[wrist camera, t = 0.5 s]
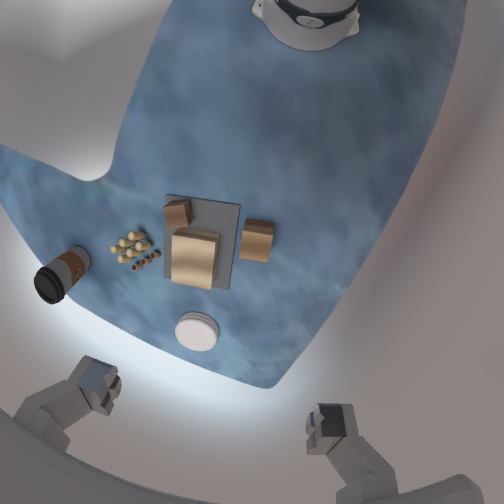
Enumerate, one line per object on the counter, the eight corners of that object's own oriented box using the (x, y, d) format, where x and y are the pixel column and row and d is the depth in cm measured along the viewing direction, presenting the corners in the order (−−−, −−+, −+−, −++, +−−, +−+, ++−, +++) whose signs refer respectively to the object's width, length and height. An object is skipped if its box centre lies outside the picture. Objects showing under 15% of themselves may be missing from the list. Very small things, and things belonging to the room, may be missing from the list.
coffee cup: (95, 276, 59) (62, 311, 45) (71, 267, 58) (36, 299, 45) (93, 246, 55) (55, 278, 42) (68, 238, 55) (29, 267, 41)
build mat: (167, 194, 49) (165, 195, 48) (240, 204, 49) (239, 205, 48) (165, 276, 57) (164, 277, 56) (228, 288, 57) (228, 289, 56)
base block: (179, 227, 51) (172, 235, 47) (219, 233, 51) (215, 242, 47) (177, 272, 55) (171, 282, 52) (214, 279, 55) (210, 289, 52)
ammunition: (107, 249, 50) (130, 279, 52) (130, 231, 48) (155, 265, 50) (118, 239, 54) (139, 268, 57) (141, 222, 52) (163, 254, 55)
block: (170, 201, 49) (162, 207, 45) (190, 198, 48) (184, 204, 45) (174, 221, 50) (167, 228, 47) (194, 219, 50) (188, 226, 46)
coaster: (215, 346, 65) (212, 356, 62) (176, 335, 64) (172, 344, 61) (223, 318, 61) (220, 328, 57) (181, 305, 60) (176, 315, 57)
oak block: (246, 218, 50) (243, 230, 45) (273, 223, 50) (273, 235, 45) (242, 243, 52) (239, 257, 47) (268, 247, 52) (267, 262, 47)
